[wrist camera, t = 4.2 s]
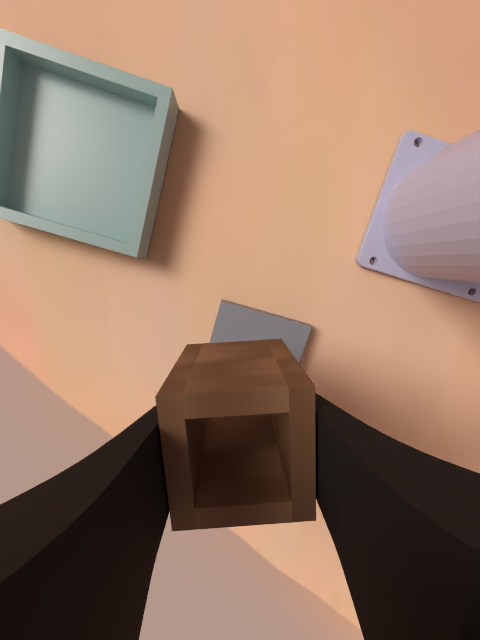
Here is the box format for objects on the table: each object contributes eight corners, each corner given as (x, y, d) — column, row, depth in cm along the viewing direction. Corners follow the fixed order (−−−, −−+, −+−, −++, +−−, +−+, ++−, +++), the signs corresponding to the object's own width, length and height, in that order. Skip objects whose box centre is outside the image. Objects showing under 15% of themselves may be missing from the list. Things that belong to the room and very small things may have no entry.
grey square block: (308, 323, 18) (329, 340, 14) (280, 403, 19) (293, 438, 15) (221, 299, 18) (219, 309, 14) (198, 382, 19) (190, 413, 15)
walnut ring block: (281, 338, 12) (315, 386, 7) (284, 424, 13) (315, 520, 8) (187, 344, 12) (155, 396, 7) (195, 430, 13) (172, 531, 8)
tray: (179, 108, 15) (172, 88, 14) (146, 258, 17) (136, 257, 15) (22, 54, 15) (-7, 26, 13) (4, 216, 16) (-24, 211, 14)
